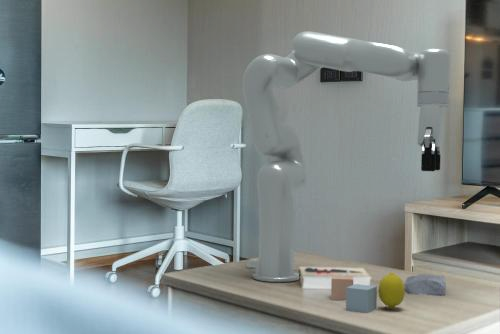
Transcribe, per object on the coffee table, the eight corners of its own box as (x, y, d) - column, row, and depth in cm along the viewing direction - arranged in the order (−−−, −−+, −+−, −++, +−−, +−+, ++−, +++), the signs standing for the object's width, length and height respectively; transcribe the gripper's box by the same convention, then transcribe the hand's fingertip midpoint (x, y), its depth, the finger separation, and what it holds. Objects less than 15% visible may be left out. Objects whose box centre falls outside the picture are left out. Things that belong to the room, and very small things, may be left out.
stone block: (407, 302, 179) (449, 295, 177) (403, 282, 179) (445, 276, 177) (407, 294, 190) (446, 288, 188) (403, 276, 191) (442, 270, 189)
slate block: (346, 310, 160) (346, 287, 160) (355, 306, 165) (355, 284, 164) (367, 313, 158) (367, 290, 158) (376, 309, 162) (376, 286, 162)
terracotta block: (331, 300, 171) (331, 278, 171) (331, 296, 176) (331, 275, 176) (353, 301, 170) (353, 279, 170) (352, 296, 175) (353, 275, 175)
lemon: (388, 312, 158) (388, 275, 158) (373, 307, 163) (374, 271, 163) (409, 310, 160) (409, 273, 160) (394, 305, 165) (395, 270, 165)
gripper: (422, 102, 189) (420, 169, 189) (411, 98, 173) (409, 171, 173) (452, 102, 186) (450, 170, 187) (444, 98, 170) (442, 172, 171)
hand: (430, 170), depth 180 cm, fingers open, 9 cm apart
